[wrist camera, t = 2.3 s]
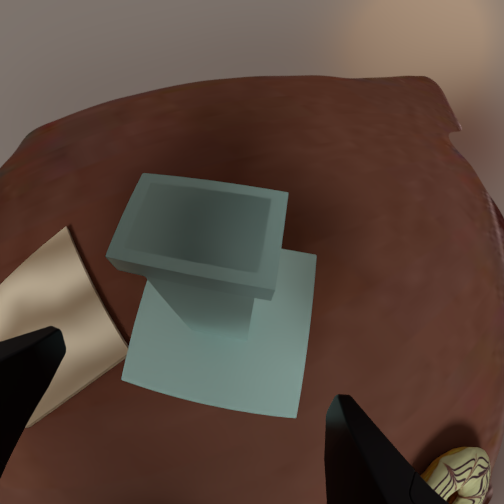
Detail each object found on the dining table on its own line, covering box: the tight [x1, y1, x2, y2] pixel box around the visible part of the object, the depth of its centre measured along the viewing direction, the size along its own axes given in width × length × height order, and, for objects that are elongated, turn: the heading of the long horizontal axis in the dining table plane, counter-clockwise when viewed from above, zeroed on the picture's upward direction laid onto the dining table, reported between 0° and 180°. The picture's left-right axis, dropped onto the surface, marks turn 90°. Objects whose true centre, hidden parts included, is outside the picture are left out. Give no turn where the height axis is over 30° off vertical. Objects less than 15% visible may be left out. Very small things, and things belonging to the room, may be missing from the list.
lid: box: [105, 173, 317, 418], centre depth 12 cm, size 10×10×12 cm
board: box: [0, 227, 128, 428], centre depth 18 cm, size 14×14×1 cm
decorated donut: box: [421, 447, 490, 504], centre depth 11 cm, size 10×11×4 cm
